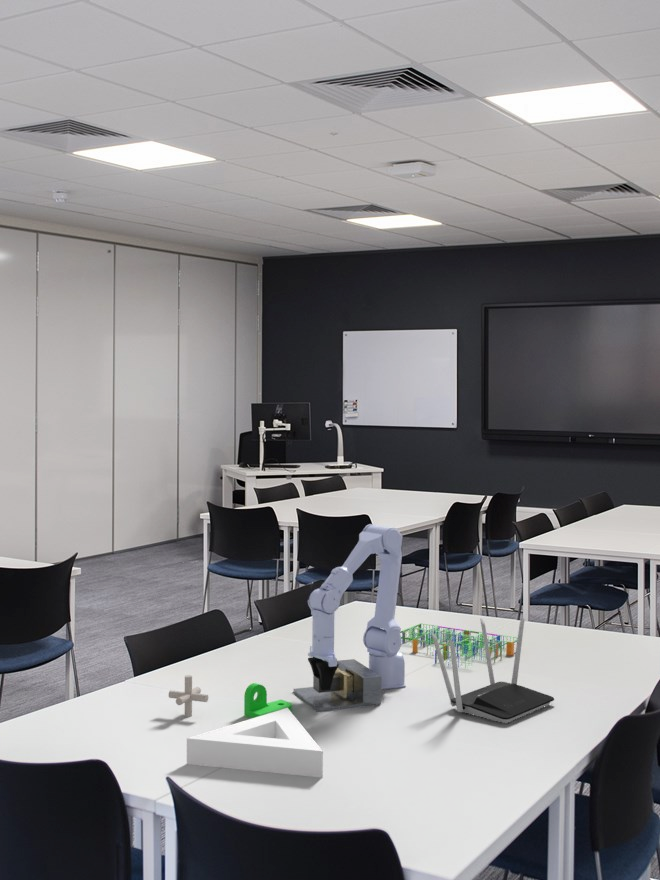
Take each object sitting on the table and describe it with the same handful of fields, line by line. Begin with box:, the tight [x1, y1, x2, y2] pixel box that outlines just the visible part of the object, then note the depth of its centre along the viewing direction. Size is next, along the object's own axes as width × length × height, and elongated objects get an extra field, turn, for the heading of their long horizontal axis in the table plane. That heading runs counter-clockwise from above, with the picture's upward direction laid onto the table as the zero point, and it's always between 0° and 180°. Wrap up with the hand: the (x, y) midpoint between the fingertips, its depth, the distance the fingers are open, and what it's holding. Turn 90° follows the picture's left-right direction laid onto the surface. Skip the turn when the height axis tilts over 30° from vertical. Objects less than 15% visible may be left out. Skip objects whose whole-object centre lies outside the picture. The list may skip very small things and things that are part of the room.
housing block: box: [293, 658, 382, 713], centre depth 262 cm, size 18×18×8 cm
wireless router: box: [430, 617, 555, 724], centre depth 256 cm, size 34×23×20 cm
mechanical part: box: [243, 682, 293, 719], centre depth 248 cm, size 12×6×8 cm, turn 134°
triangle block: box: [186, 708, 324, 778], centre depth 217 cm, size 30×26×6 cm
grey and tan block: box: [312, 668, 354, 698], centre depth 261 cm, size 11×9×6 cm
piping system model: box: [400, 623, 518, 669], centre depth 310 cm, size 35×30×5 cm
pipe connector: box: [168, 674, 209, 718], centre depth 246 cm, size 10×10×10 cm
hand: (322, 687), depth 260 cm, fingers closed on grey and tan block, 4 cm apart
